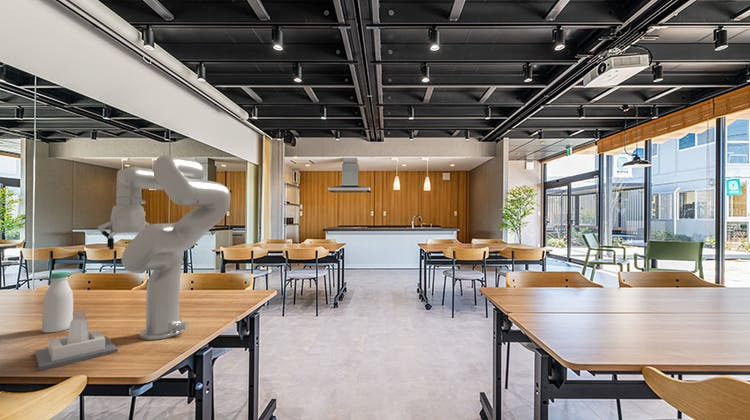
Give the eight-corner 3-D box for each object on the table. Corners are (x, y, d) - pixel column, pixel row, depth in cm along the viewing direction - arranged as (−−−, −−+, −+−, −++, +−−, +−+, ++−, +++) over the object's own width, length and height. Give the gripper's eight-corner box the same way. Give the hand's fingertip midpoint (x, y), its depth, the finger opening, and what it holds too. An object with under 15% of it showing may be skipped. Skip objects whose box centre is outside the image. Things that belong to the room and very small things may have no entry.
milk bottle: (77, 327, 117) (79, 271, 118) (50, 334, 110) (52, 275, 110) (64, 325, 119) (66, 270, 120) (36, 331, 112) (38, 273, 113)
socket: (106, 338, 106) (106, 326, 106) (117, 351, 95) (118, 338, 95) (35, 354, 93) (35, 340, 94) (39, 370, 83) (40, 355, 83)
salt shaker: (72, 346, 96) (74, 309, 97) (94, 344, 98) (95, 308, 98) (60, 353, 91) (61, 314, 92) (83, 352, 93) (84, 313, 93)
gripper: (153, 203, 130) (151, 246, 130) (97, 202, 117) (95, 249, 116) (158, 203, 125) (157, 247, 125) (101, 201, 112) (99, 250, 112)
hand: (127, 248), depth 121 cm, fingers open, 9 cm apart
